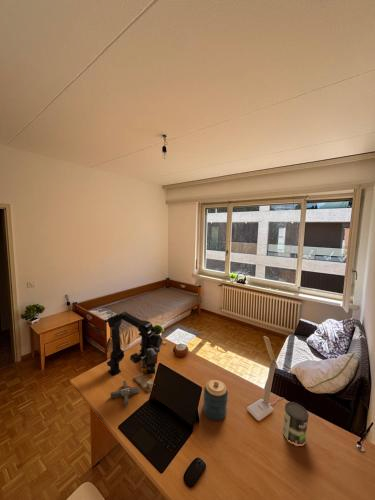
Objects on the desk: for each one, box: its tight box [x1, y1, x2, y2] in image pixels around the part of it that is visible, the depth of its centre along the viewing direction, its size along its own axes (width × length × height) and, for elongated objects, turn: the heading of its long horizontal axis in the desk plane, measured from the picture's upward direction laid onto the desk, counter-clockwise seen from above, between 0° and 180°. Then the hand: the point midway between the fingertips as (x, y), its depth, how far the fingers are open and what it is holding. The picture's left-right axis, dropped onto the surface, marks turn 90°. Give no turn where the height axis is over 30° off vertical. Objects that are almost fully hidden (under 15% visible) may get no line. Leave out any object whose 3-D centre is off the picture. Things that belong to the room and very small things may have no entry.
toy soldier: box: [139, 351, 159, 377], centre depth 152 cm, size 14×12×30 cm
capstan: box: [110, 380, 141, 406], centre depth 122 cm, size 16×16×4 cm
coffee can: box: [282, 401, 310, 444], centre depth 102 cm, size 10×10×14 cm
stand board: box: [133, 372, 154, 394], centre depth 132 cm, size 16×6×4 cm, turn 47°
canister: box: [202, 379, 229, 422], centre depth 114 cm, size 13×13×18 cm
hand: (145, 366), depth 131 cm, fingers closed
